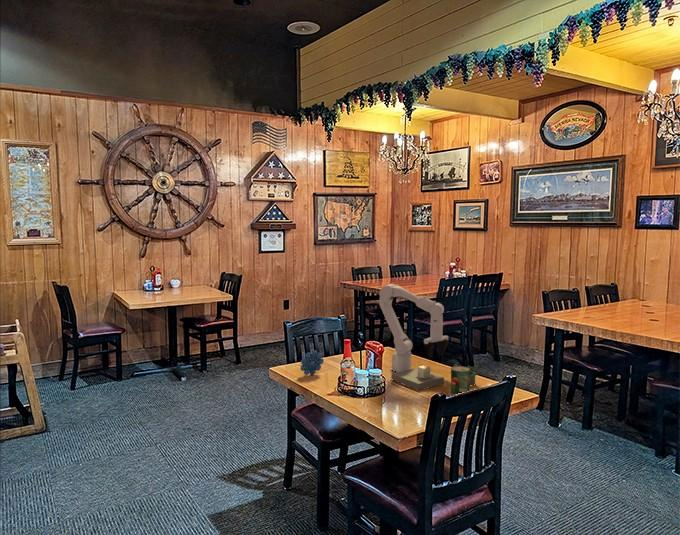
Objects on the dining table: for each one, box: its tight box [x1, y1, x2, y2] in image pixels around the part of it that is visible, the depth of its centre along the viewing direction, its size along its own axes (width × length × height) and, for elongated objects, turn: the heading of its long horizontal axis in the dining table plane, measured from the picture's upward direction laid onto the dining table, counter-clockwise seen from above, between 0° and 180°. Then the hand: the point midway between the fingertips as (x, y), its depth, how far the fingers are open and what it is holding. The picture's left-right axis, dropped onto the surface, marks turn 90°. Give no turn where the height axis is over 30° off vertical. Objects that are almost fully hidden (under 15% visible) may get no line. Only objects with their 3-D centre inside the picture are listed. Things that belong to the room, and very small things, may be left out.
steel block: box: [417, 365, 431, 380], centre depth 227 cm, size 4×4×8 cm
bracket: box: [453, 363, 479, 387], centre depth 229 cm, size 9×9×9 cm
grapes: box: [300, 350, 325, 376], centre depth 242 cm, size 12×7×12 cm, turn 109°
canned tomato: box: [450, 365, 471, 396], centre depth 215 cm, size 8×8×11 cm
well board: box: [390, 367, 445, 391], centre depth 231 cm, size 18×16×3 cm
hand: (436, 356), depth 240 cm, fingers open, 7 cm apart
